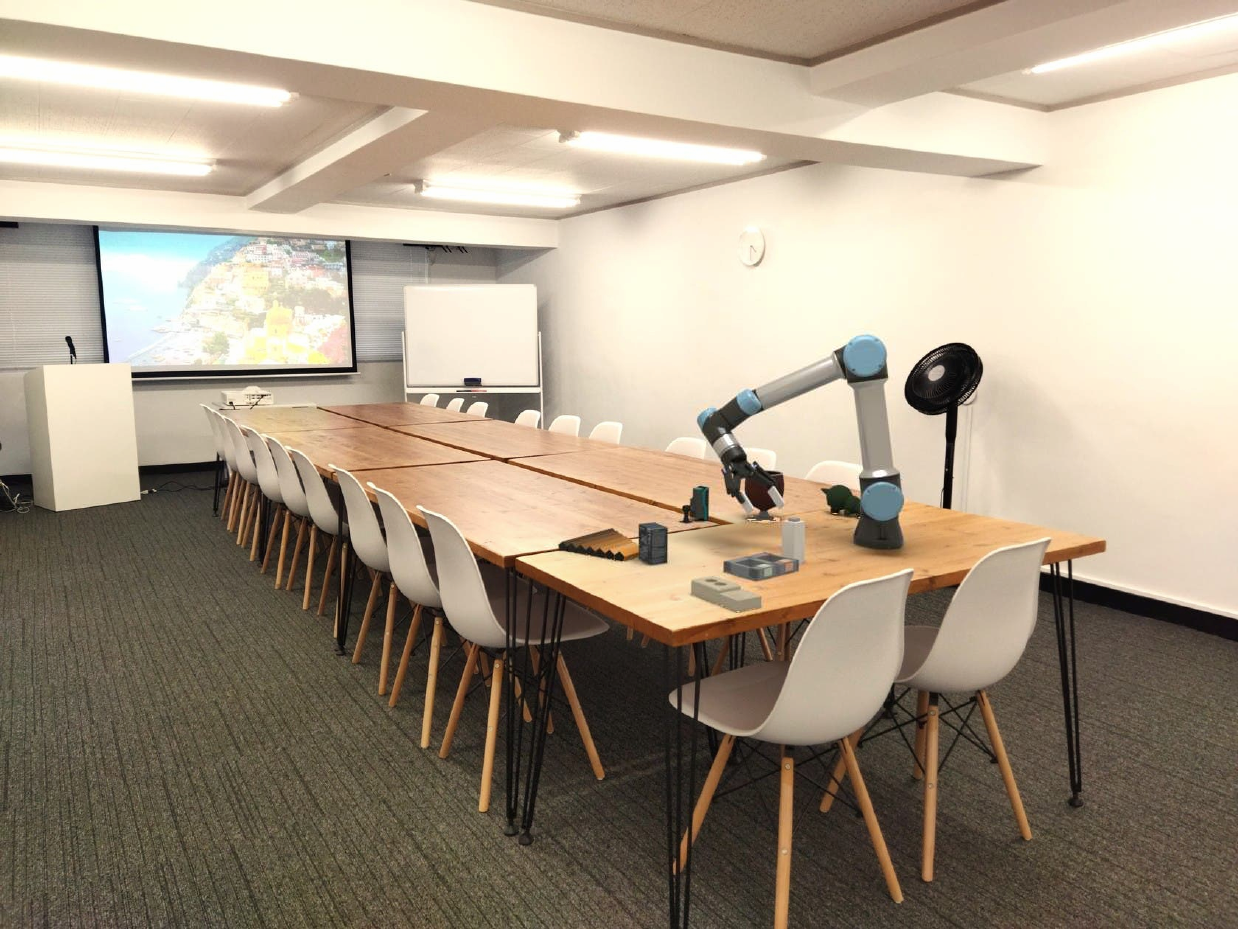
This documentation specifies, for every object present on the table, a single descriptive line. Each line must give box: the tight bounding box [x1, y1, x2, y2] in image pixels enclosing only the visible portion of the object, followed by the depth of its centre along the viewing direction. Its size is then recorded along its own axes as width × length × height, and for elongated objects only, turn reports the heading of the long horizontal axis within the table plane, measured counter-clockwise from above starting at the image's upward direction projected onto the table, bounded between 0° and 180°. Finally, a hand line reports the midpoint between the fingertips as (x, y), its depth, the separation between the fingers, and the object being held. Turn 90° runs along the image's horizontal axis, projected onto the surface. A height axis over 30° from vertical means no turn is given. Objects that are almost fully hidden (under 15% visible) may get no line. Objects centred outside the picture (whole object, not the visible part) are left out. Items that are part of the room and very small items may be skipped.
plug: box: [780, 517, 806, 565], centre depth 242 cm, size 4×4×13 cm
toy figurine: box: [820, 484, 860, 518], centre depth 311 cm, size 9×19×25 cm
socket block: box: [723, 551, 800, 582], centre depth 233 cm, size 17×12×3 cm
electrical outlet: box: [690, 575, 763, 612], centre depth 206 cm, size 7×4×18 cm
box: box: [638, 521, 669, 566], centre depth 244 cm, size 8×6×11 cm
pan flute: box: [557, 527, 639, 562], centre depth 261 cm, size 25×3×25 cm
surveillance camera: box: [678, 485, 710, 525], centre depth 302 cm, size 6×12×10 cm
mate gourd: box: [744, 469, 785, 521], centre depth 303 cm, size 16×14×20 cm
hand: (767, 509), depth 249 cm, fingers open, 13 cm apart
